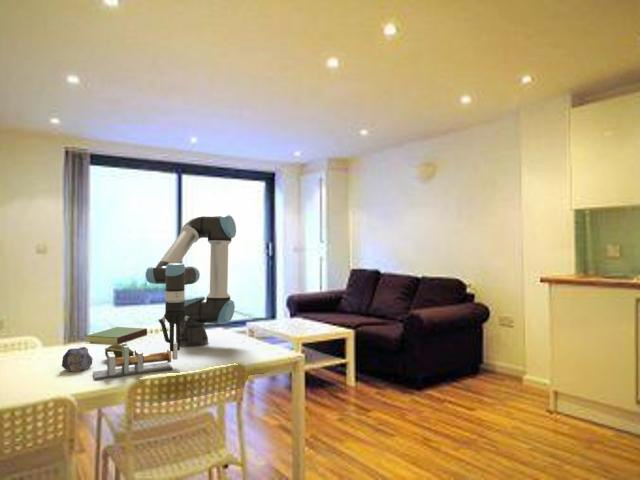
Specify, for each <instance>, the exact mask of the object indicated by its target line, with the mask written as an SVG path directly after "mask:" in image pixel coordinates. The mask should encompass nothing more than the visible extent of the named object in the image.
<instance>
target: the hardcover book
mask: <svg viewBox="0 0 640 480" xmlns="http://www.w3.org/2000/svg"><path fill="white" fill-rule="evenodd" d="M146 335H148V328H145V327H144V328H143V327H123V326H115V327H112V328H109V329H106V330H101V331H96V332H93V333H91V334H86V335H85V337H86V343H96V344H98V343H99V344H112V345H121V344H122V343H127V342H128V341H131V340H135V339H137V338H141V337H143V336H146Z"/></svg>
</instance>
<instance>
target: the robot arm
mask: <svg viewBox="0 0 640 480" xmlns="http://www.w3.org/2000/svg"><path fill="white" fill-rule="evenodd" d="M236 225H237V224H236V223H235V220H234V218H233V216H231V215H230V214H224V213H223V214H222V213H221V214H218V213H217V214H199V215H197V216H195V217H193V218H191V219H190V220H188V221H187V222H186V223H185V224H184V225H183V226H182V227H181V229H180V231H179V232H180V233H179V235H178V236H177V238H176V239H175V240H174V242H173V243H172V245H171V246H170V247H169V249H168V250H167V251H166V253H165V254H164V255H163V257H162V258H161V259H160V261H158V263H157V265H152V266H149V267H147V268H146V271H145V279H146V281H147V282H148V283H149V284H155V285H165V303H164V304H165V309H164V310H165V312H164V315H163V317H161V318H159V319H158V322H159V323H160V326H161V331H162V335H163V337H164V341H165V342H166V343H169V350H170V351H171V360H176V361H177V360H178V352H180V350H181V347H198V346H199V347H200V346H205V345H207V344H208V343H209V337H208V334H207V331H206V328H205V324H218V325H221V324H222V325H223V324H228V323H230V322H231V321H232V319H233V317H234V314H235V308H236V307H235V302H234V300H231V295H230V294H229V292H228V283H229V282H228V281H229V280H228V277H229V275H228V273H229V272H228V271H229V269H228V268H229V244H231V243H232V239H234V238H235V237H236V234H237V227H236ZM203 238H205V239H207V242H208V243H209V244H210V256H209V257H210V264H209V293H208V294H207V295H206V297H205V296H204V295H201V296H200V295H199V296H193V297H191V296H190V297H185V296H186V294H185V291H186V289H185V287H186V285H193V284H196V283H197V282H198V281H199V279H200V277H201V276H200V271H199V269H198V268H197V267H195V266H185V264H184V263H182V261H183V258H184V257H185V256H186V254H187V253H188V252H189V250H190V249H191V247H192V245H193V244H194V243H197V242H198V241H199V239H200V240H201V239H203ZM166 322H167V323H169V324H168V325H169V333H168V329H167V327H166Z"/></svg>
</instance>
